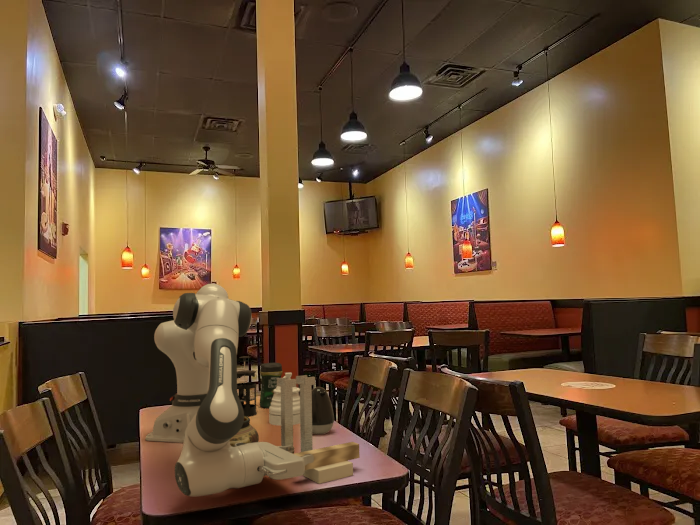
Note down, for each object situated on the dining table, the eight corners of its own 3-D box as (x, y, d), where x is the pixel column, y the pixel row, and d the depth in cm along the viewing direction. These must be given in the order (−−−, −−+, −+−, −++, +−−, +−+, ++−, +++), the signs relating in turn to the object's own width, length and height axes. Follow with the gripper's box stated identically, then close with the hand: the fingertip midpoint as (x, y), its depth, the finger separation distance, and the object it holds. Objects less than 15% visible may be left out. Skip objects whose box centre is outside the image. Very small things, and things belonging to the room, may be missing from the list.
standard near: (282, 468, 136) (281, 381, 138) (272, 463, 141) (271, 378, 142) (302, 464, 139) (301, 378, 141) (292, 459, 144) (290, 376, 146)
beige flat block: (318, 483, 123) (318, 470, 124) (302, 475, 130) (302, 463, 130) (353, 475, 129) (352, 462, 129) (335, 467, 136) (335, 455, 136)
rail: (298, 471, 123) (298, 456, 124) (292, 468, 126) (292, 453, 126) (359, 457, 134) (359, 444, 134) (352, 455, 136) (352, 441, 136)
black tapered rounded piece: (311, 438, 167) (310, 390, 168) (299, 431, 176) (298, 386, 177) (339, 433, 171) (338, 387, 173) (326, 427, 181) (325, 383, 182)
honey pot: (310, 421, 191) (309, 372, 192) (279, 427, 183) (279, 375, 184) (292, 416, 201) (291, 369, 202) (263, 421, 193) (262, 372, 195)
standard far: (302, 464, 139) (301, 378, 141) (292, 459, 144) (290, 376, 146) (321, 460, 142) (320, 376, 144) (310, 455, 147) (309, 374, 149)
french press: (260, 415, 203) (259, 356, 205) (236, 418, 199) (236, 358, 201) (251, 410, 214) (251, 354, 216) (229, 413, 210) (229, 356, 212)
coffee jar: (262, 409, 216) (262, 364, 218) (258, 406, 223) (257, 362, 225) (285, 406, 220) (284, 362, 222) (279, 403, 227) (279, 361, 229)
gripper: (269, 460, 110) (324, 449, 118) (232, 441, 127) (283, 432, 134) (269, 491, 109) (325, 477, 117) (232, 468, 126) (283, 457, 134)
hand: (302, 453), depth 126 cm, fingers open, 8 cm apart
